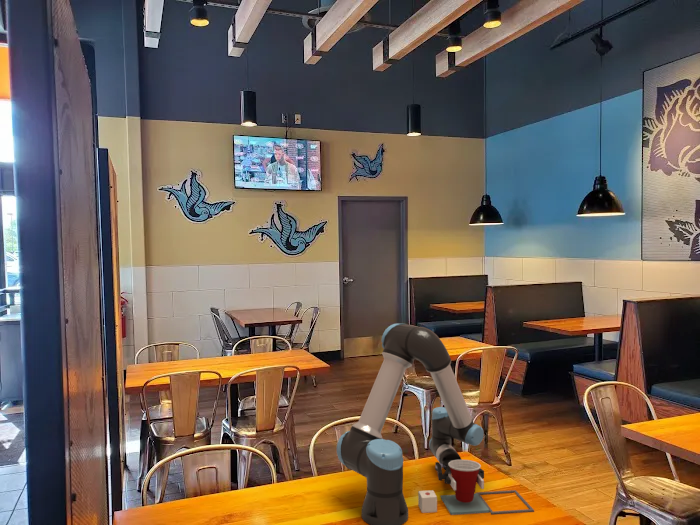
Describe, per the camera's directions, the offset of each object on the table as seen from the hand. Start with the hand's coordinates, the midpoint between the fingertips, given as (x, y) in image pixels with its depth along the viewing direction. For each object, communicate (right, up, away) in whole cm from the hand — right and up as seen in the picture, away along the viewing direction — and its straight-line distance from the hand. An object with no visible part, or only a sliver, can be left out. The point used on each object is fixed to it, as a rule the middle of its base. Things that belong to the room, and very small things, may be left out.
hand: (468, 485), depth 180 cm
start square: (+13, -8, +6) cm, 17 cm away
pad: (-1, -9, +5) cm, 10 cm away
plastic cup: (0, -7, +5) cm, 8 cm away
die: (-13, -9, +2) cm, 16 cm away
